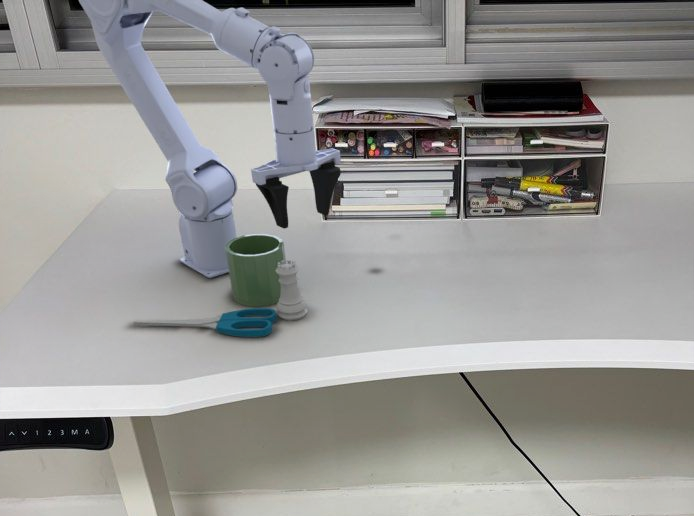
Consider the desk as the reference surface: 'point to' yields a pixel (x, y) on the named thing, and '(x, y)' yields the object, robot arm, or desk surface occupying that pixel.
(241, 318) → the scissors
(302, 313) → the rook chess piece
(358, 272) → the desk surface
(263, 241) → the planter
